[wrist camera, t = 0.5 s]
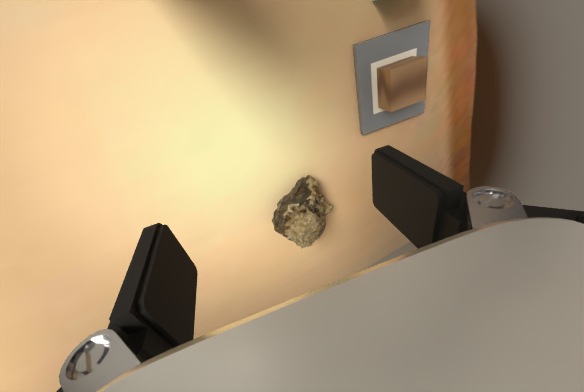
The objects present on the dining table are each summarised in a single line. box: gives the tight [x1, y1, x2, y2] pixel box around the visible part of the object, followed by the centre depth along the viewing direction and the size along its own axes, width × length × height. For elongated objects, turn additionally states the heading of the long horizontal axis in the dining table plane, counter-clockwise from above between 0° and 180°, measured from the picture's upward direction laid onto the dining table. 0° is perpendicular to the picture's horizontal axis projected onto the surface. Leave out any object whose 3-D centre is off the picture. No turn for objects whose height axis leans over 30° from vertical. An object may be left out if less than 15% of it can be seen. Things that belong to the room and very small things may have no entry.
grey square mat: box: [353, 20, 430, 135], centre depth 45 cm, size 16×14×1 cm
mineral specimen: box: [272, 175, 333, 248], centre depth 51 cm, size 14×13×10 cm
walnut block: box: [377, 56, 428, 112], centre depth 43 cm, size 7×7×4 cm
